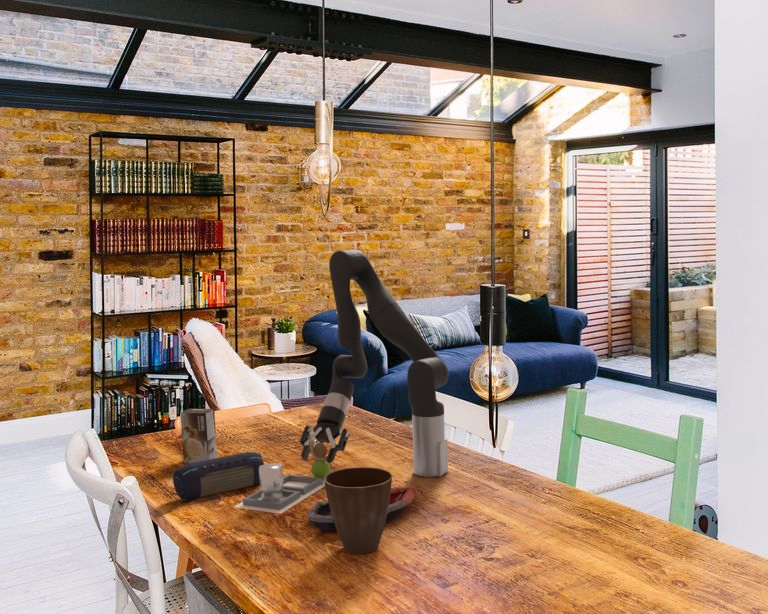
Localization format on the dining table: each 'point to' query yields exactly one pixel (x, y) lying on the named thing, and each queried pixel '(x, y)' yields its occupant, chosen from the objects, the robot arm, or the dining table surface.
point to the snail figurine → (319, 460)
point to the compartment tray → (285, 494)
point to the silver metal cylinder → (271, 482)
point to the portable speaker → (217, 475)
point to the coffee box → (198, 435)
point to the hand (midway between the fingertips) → (316, 460)
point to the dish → (397, 507)
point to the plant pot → (359, 506)
